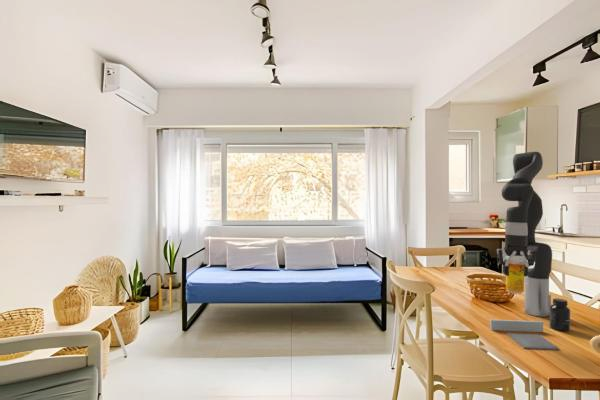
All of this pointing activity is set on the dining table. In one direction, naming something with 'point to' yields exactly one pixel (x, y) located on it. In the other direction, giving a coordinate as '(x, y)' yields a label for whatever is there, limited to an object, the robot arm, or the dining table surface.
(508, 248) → the robot arm
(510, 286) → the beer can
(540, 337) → the slate coaster
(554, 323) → the supplement bottle
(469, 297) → the dining table surface
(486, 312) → the dining table surface
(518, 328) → the acrylic wall
